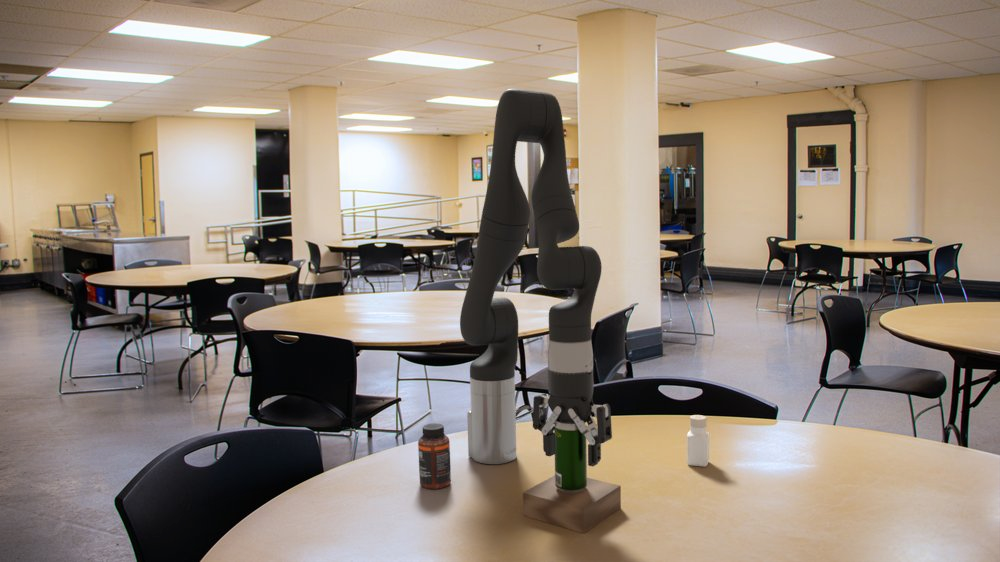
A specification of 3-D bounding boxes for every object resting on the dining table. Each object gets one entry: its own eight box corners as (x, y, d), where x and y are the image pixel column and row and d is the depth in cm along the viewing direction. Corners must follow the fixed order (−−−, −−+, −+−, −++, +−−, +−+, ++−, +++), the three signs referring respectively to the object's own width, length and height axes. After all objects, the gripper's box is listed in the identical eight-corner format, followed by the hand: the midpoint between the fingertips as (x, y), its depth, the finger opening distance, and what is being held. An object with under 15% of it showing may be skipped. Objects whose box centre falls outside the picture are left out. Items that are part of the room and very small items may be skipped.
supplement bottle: (456, 480, 144) (455, 423, 142) (441, 492, 138) (439, 432, 137) (429, 476, 146) (427, 420, 145) (413, 487, 141) (411, 428, 140)
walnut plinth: (523, 515, 127) (522, 492, 127) (562, 492, 137) (561, 471, 136) (584, 533, 120) (583, 509, 119) (620, 508, 129) (620, 485, 129)
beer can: (568, 497, 124) (567, 426, 123) (548, 487, 129) (547, 419, 127) (593, 489, 127) (592, 420, 126) (573, 480, 132) (572, 413, 130)
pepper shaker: (686, 465, 149) (686, 419, 148) (689, 459, 153) (689, 413, 152) (707, 468, 147) (707, 420, 146) (709, 461, 151) (709, 415, 150)
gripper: (522, 365, 127) (524, 458, 129) (595, 375, 118) (596, 475, 120) (547, 357, 133) (549, 446, 135) (619, 366, 124) (619, 461, 126)
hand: (571, 459), depth 127 cm, fingers open, 8 cm apart
